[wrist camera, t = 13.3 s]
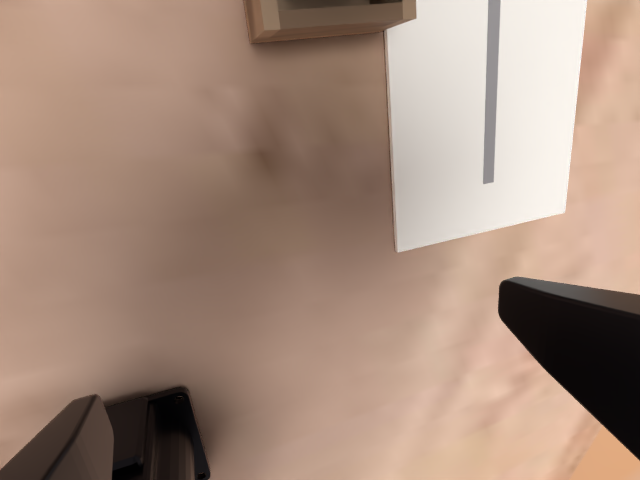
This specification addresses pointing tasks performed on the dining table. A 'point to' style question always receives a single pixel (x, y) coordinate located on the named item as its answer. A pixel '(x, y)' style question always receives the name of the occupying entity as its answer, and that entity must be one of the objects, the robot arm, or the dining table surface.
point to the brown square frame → (323, 17)
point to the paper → (481, 114)
